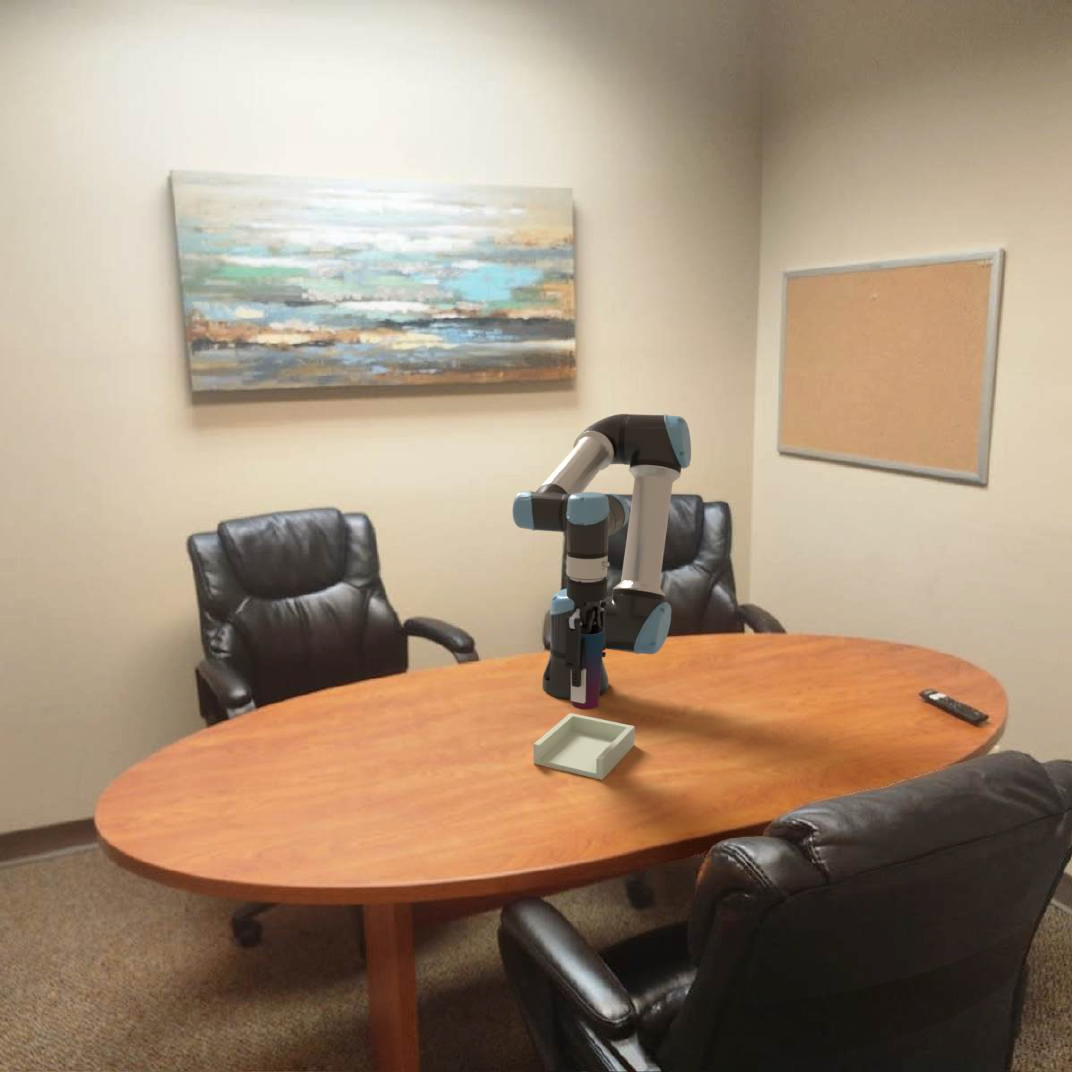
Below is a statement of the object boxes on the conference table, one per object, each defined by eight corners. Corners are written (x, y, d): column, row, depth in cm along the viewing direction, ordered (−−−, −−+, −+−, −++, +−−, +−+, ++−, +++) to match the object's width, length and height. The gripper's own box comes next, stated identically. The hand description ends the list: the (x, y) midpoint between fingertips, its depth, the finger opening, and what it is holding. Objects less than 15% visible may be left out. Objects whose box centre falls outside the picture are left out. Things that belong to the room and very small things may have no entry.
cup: (561, 707, 166) (561, 631, 163) (576, 695, 172) (577, 621, 169) (594, 714, 163) (595, 636, 160) (608, 701, 169) (610, 626, 166)
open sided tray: (533, 763, 166) (533, 743, 165) (570, 731, 180) (570, 712, 179) (602, 780, 160) (602, 759, 159) (634, 745, 174) (634, 726, 173)
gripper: (584, 592, 153) (582, 717, 157) (625, 568, 169) (622, 682, 174) (545, 586, 156) (545, 709, 161) (589, 564, 172) (587, 675, 177)
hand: (585, 695), depth 167 cm, fingers closed on cup, 6 cm apart
